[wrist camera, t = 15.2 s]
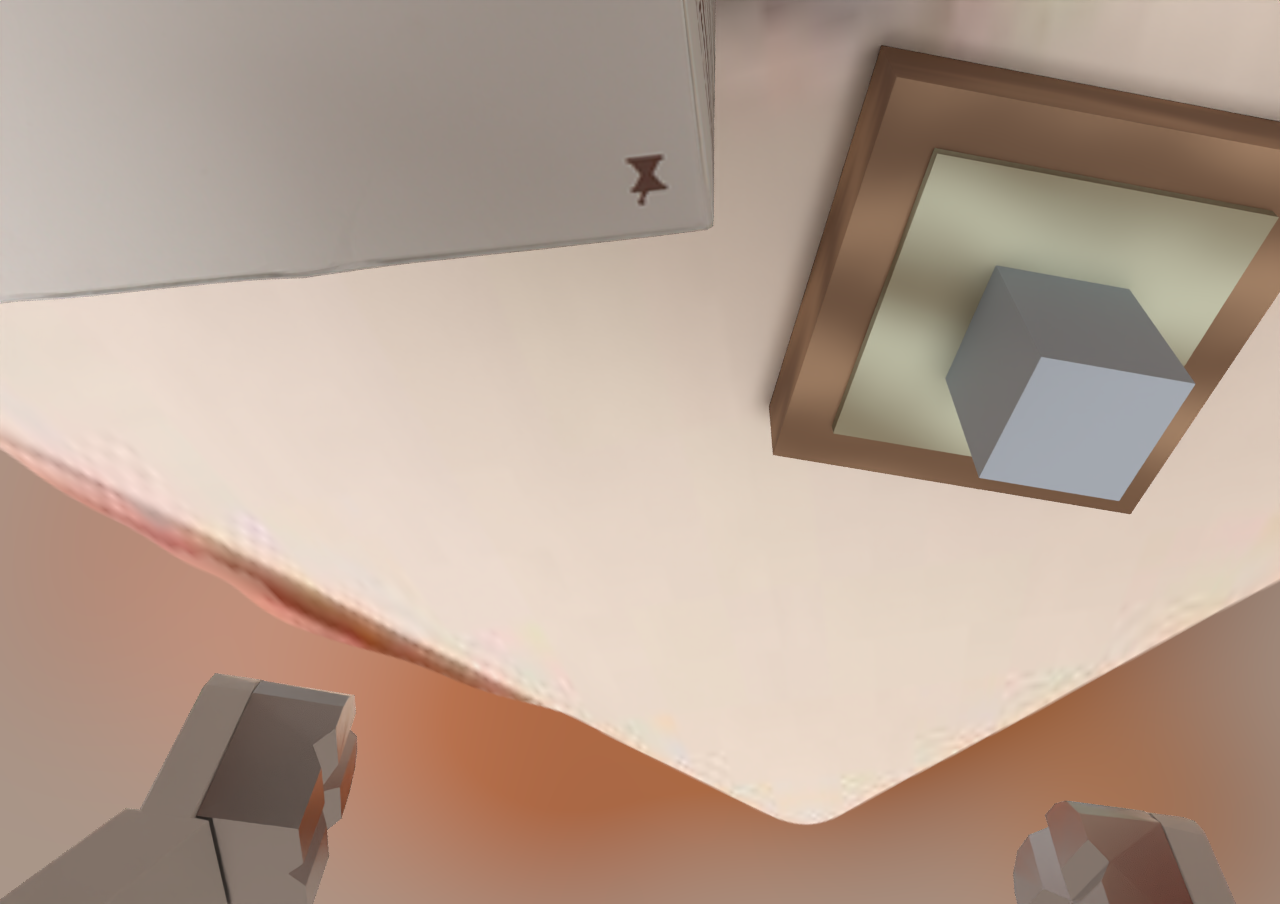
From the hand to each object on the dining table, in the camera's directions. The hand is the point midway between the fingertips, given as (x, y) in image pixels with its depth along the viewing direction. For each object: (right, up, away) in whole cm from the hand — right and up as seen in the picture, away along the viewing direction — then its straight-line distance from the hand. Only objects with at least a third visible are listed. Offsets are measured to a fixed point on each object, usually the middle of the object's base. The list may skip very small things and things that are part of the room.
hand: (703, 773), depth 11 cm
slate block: (+14, +8, +25) cm, 30 cm away
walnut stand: (+14, +11, +28) cm, 33 cm away
